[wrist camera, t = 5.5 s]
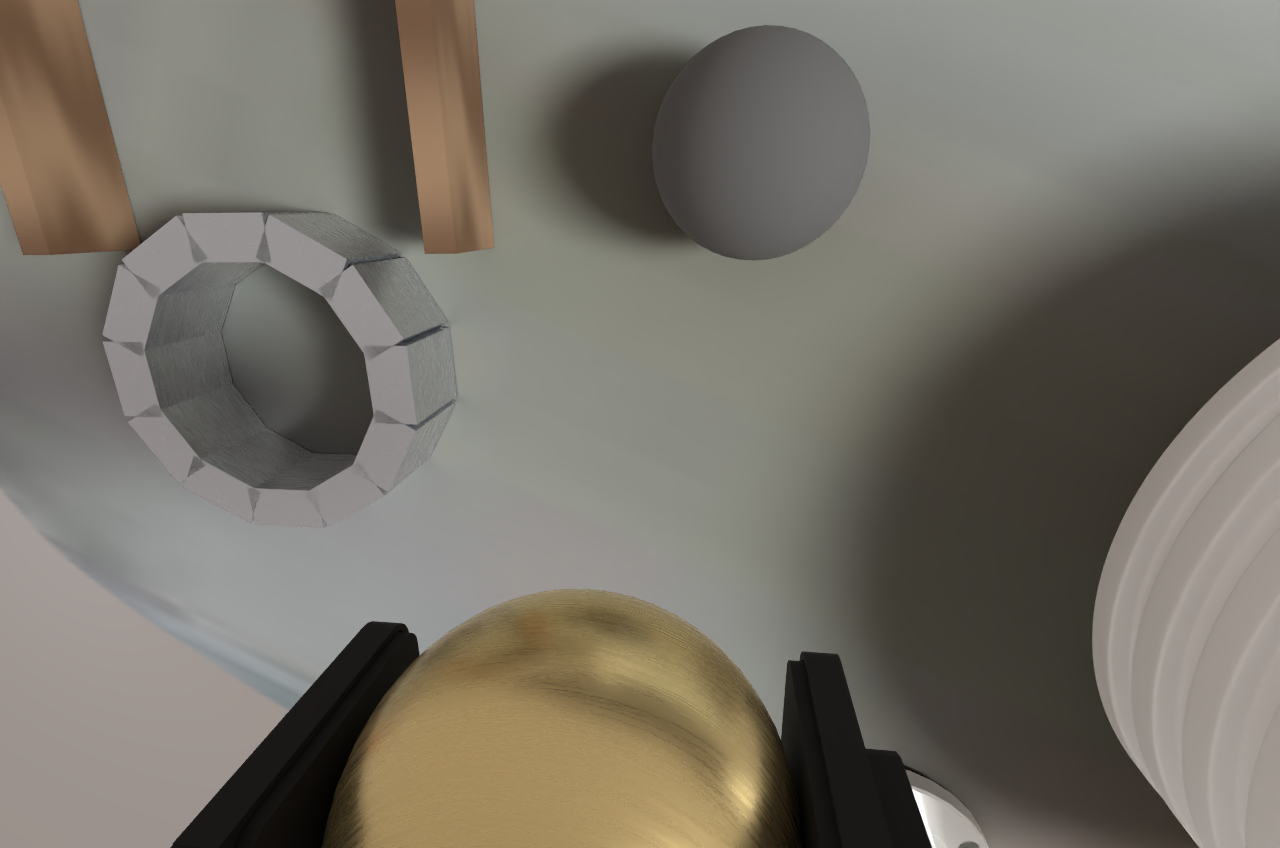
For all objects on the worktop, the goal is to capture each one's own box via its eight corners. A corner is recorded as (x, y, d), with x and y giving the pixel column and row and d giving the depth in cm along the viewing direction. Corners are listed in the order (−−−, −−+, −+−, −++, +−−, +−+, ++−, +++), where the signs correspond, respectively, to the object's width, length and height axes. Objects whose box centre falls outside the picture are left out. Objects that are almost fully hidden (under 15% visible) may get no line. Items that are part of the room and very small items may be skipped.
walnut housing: (494, 247, 22) (419, 259, 16) (118, 249, 24) (-67, 260, 18) (454, -238, 18) (333, -448, 12) (-3, -195, 19) (-295, -362, 14)
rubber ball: (836, 253, 21) (881, 268, 15) (660, 254, 22) (641, 268, 16) (854, 52, 19) (914, -16, 13) (660, 60, 20) (639, -3, 14)
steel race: (467, 491, 25) (431, 533, 22) (223, 482, 27) (154, 519, 23) (437, 211, 22) (388, 211, 19) (157, 214, 23) (65, 214, 20)
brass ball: (769, 812, 12) (819, 1374, 6) (464, 781, 12) (248, 1258, 7) (790, 525, 10) (892, 940, 4) (430, 509, 10) (91, 844, 5)
